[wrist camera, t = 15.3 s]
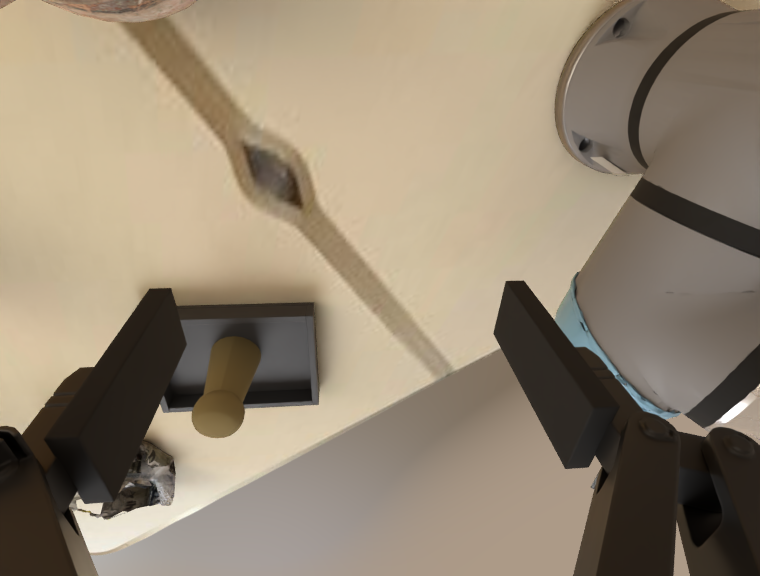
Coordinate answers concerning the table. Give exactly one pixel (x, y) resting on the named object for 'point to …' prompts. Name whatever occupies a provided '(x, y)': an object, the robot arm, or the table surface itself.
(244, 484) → the table surface
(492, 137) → the table surface
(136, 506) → the crumpled newspaper
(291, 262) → the table surface
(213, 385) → the tan pawn
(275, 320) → the dark grey shallow tray
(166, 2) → the cooking pot
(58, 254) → the table surface
